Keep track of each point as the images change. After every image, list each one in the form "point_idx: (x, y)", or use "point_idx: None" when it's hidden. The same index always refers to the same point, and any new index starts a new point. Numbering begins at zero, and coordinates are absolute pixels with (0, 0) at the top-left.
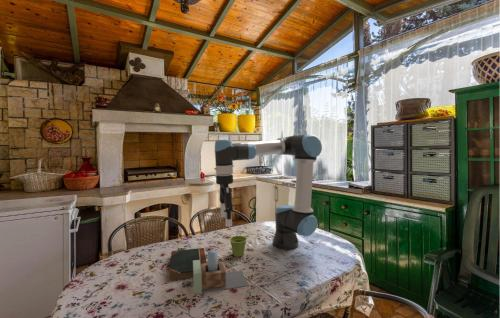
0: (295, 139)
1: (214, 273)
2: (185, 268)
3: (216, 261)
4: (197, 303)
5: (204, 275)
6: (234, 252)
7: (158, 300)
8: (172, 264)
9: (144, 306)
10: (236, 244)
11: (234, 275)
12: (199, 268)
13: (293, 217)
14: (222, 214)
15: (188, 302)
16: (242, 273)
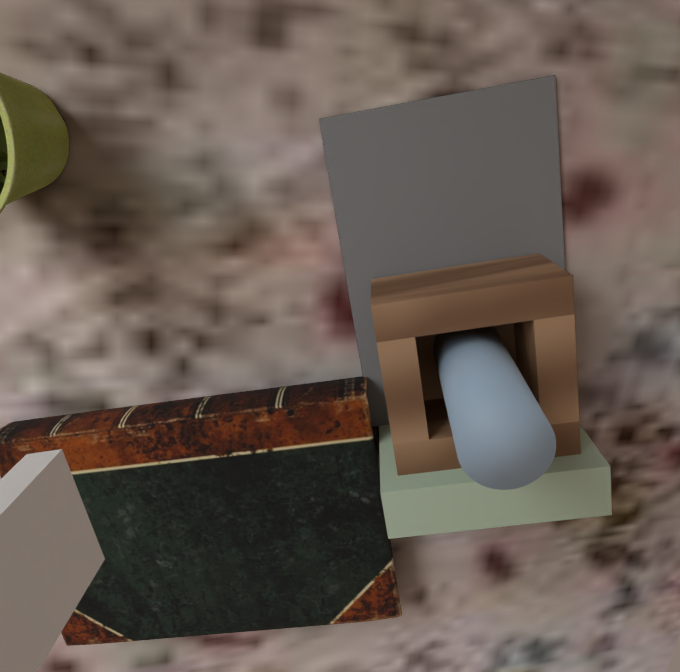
0: None
1: (574, 363)
2: (336, 536)
3: (514, 373)
4: (670, 414)
5: (578, 431)
6: (47, 177)
7: (586, 601)
8: (273, 616)
9: (621, 647)
10: (19, 160)
11: (395, 185)
12: (531, 484)
13: None
14: (61, 581)
15: (646, 461)
16: (372, 116)
